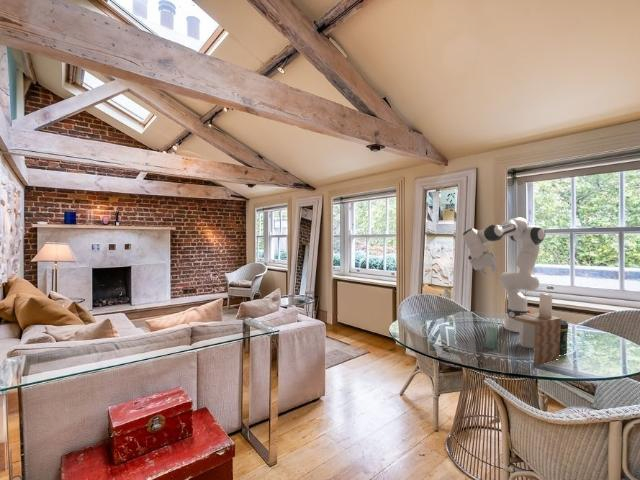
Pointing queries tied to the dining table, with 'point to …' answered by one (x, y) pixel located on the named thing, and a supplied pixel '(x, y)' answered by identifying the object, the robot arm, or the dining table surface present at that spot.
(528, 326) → the milk carton
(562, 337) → the coffee jar
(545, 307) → the white glossy cylinder
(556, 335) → the walnut counter
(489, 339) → the sage green cylinder
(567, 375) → the dining table surface
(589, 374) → the dining table surface
